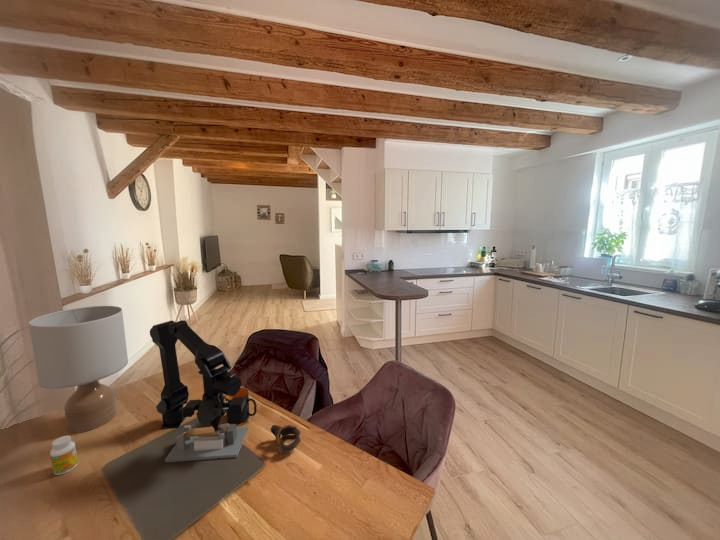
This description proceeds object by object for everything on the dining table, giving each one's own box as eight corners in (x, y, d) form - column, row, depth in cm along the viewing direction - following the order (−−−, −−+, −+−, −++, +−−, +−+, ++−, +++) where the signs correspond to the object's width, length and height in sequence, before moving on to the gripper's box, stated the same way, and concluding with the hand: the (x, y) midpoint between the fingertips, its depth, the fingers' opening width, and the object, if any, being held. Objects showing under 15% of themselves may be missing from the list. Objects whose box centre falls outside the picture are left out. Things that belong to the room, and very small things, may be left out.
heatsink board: (165, 462, 91) (163, 445, 90) (185, 433, 104) (183, 418, 103) (237, 457, 94) (236, 440, 93) (247, 429, 106) (247, 414, 106)
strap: (180, 438, 96) (179, 434, 96) (184, 432, 99) (184, 428, 98) (225, 433, 97) (225, 429, 97) (228, 427, 100) (228, 423, 100)
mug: (251, 427, 108) (250, 402, 106) (222, 423, 109) (220, 398, 108) (262, 413, 116) (261, 389, 114) (234, 410, 117) (233, 386, 116)
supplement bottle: (49, 478, 85) (44, 449, 83) (57, 465, 90) (53, 437, 88) (73, 471, 87) (69, 443, 86) (80, 458, 92) (76, 431, 91)
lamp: (53, 454, 93) (33, 332, 87) (43, 423, 108) (25, 316, 101) (141, 416, 112) (130, 313, 106) (123, 394, 127) (112, 302, 120)
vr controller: (306, 437, 104) (306, 427, 99) (292, 465, 97) (291, 456, 92) (278, 423, 107) (276, 412, 101) (262, 448, 100) (259, 439, 94)
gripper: (170, 403, 87) (175, 449, 89) (234, 399, 89) (237, 444, 91) (188, 383, 98) (192, 424, 100) (244, 380, 100) (247, 421, 102)
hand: (216, 429), depth 98 cm, fingers closed, pressing on strap
